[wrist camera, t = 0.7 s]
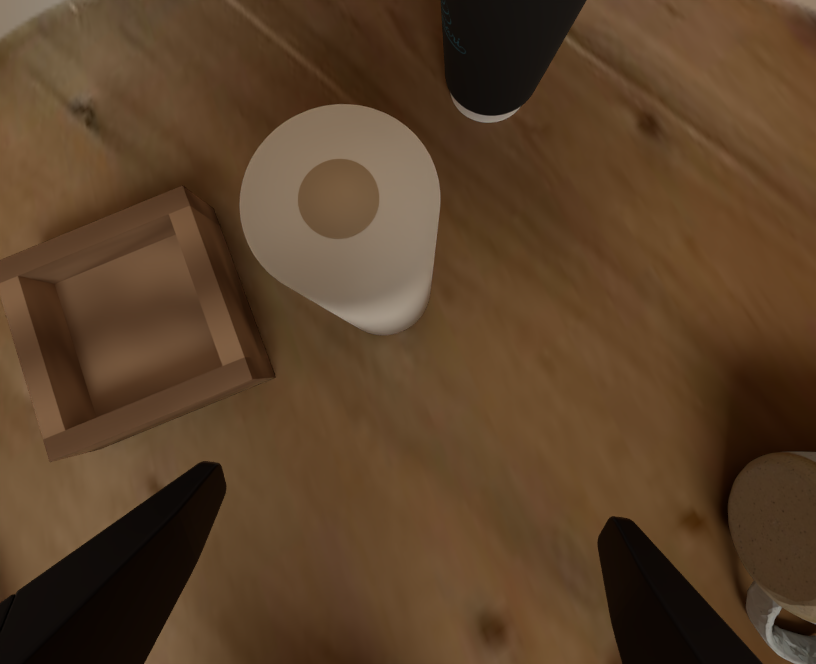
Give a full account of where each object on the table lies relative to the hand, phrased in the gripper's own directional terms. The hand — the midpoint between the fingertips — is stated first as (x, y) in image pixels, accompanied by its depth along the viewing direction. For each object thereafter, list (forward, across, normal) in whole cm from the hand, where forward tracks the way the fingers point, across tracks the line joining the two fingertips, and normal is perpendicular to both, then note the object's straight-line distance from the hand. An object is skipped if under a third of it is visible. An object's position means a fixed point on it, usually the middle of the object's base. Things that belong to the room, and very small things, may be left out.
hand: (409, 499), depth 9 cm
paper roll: (+15, +3, +1) cm, 15 cm away
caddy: (+12, +16, +4) cm, 21 cm away
